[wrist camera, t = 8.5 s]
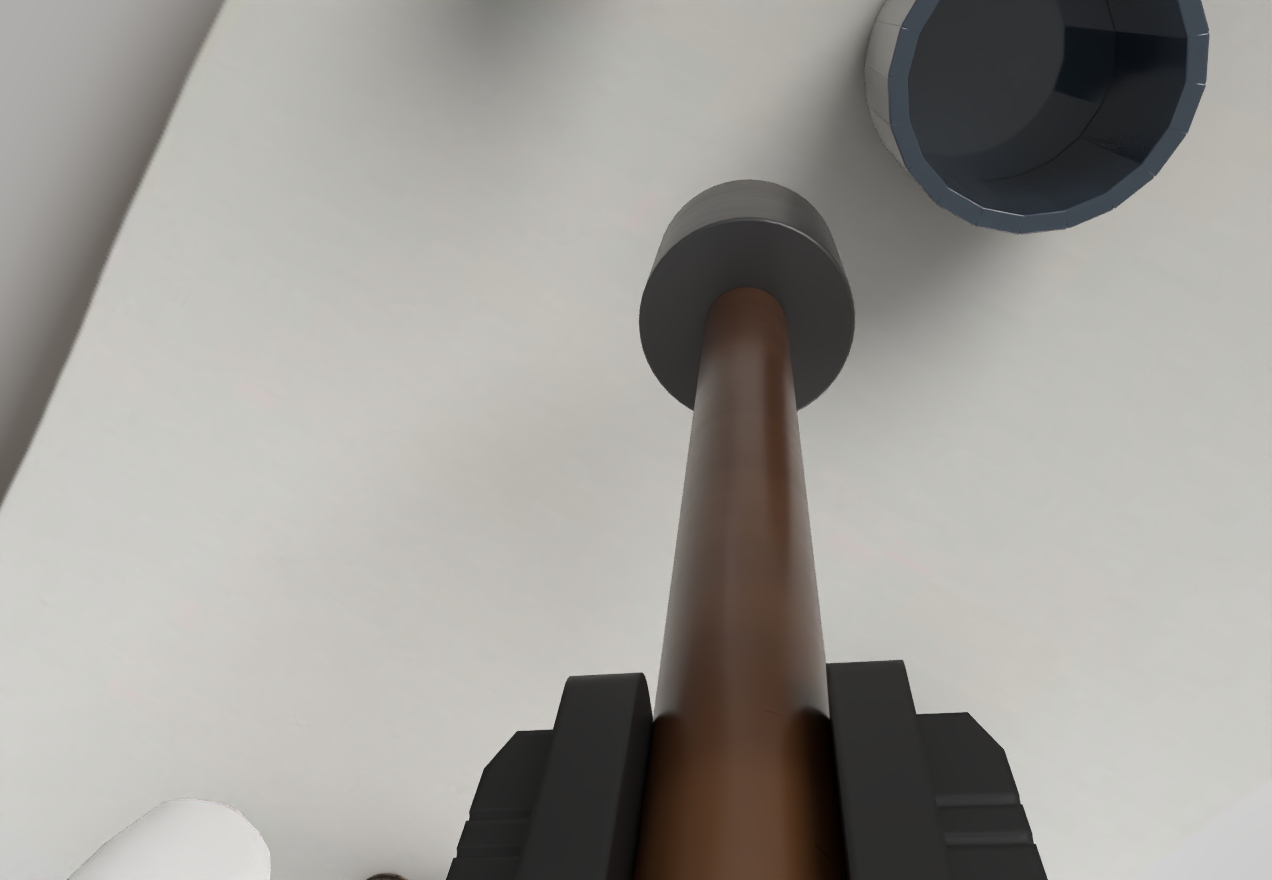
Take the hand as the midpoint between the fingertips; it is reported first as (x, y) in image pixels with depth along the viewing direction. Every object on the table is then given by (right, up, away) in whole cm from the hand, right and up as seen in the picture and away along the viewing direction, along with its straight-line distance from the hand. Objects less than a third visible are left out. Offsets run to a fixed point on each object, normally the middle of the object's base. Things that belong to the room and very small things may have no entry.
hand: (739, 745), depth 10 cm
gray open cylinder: (+11, +16, +26) cm, 32 cm away
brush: (+2, +8, +17) cm, 19 cm away
